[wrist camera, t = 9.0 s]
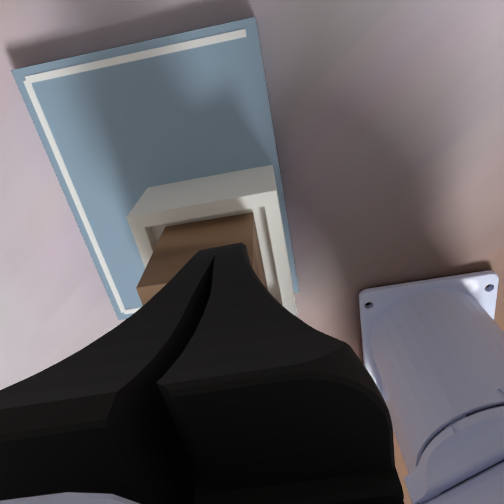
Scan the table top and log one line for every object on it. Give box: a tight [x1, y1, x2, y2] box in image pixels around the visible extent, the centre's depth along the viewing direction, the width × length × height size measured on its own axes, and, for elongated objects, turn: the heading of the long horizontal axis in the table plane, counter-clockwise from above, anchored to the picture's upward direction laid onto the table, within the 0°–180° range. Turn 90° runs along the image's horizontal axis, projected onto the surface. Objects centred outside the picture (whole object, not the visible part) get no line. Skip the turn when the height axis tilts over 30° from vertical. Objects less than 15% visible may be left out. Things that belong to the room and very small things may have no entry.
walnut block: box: [136, 212, 268, 305], centre depth 16 cm, size 4×4×5 cm
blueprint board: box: [11, 17, 299, 320], centre depth 19 cm, size 14×11×5 cm
